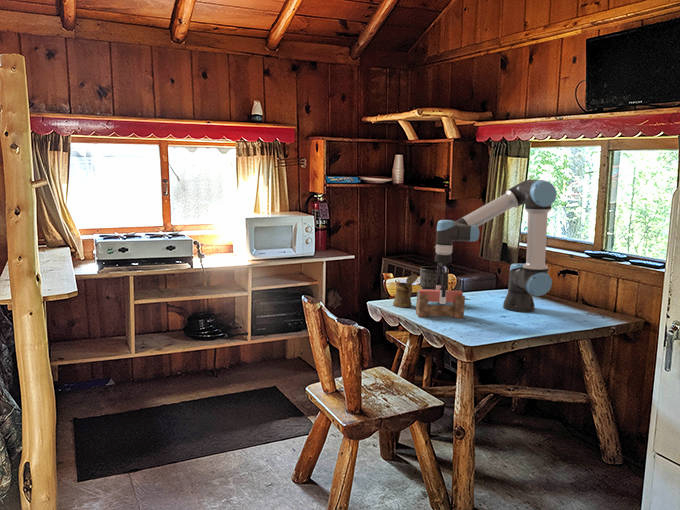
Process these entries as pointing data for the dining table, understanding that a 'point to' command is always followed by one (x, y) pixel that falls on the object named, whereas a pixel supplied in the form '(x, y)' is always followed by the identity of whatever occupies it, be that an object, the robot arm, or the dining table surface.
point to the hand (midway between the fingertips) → (440, 301)
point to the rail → (435, 295)
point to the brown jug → (404, 292)
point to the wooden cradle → (440, 308)
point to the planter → (428, 277)
